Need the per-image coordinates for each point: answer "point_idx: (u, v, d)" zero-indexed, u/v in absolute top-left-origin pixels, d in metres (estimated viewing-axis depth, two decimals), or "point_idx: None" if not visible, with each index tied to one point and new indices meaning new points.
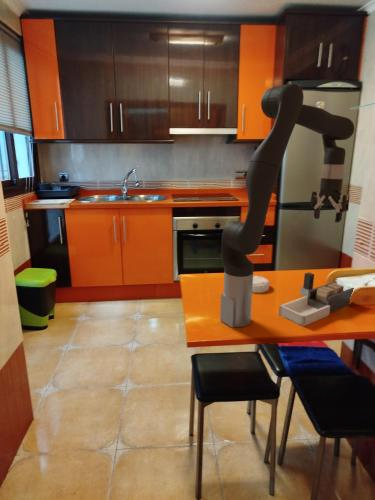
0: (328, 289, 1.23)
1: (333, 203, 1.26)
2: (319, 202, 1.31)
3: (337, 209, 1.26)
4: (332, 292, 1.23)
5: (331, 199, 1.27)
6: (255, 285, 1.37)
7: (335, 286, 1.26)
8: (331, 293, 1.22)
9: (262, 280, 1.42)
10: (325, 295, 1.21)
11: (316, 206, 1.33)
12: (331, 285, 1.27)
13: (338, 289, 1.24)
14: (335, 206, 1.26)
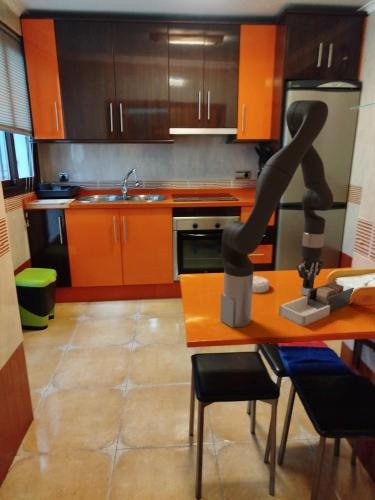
0: (328, 289, 1.23)
1: (316, 269, 1.31)
2: (311, 271, 1.30)
3: (314, 275, 1.33)
4: (332, 292, 1.23)
5: (317, 265, 1.31)
6: (255, 285, 1.37)
7: (335, 286, 1.26)
8: (331, 293, 1.22)
9: (262, 280, 1.42)
10: (325, 295, 1.21)
11: (309, 277, 1.31)
12: (331, 285, 1.27)
13: (338, 289, 1.24)
14: (315, 272, 1.32)
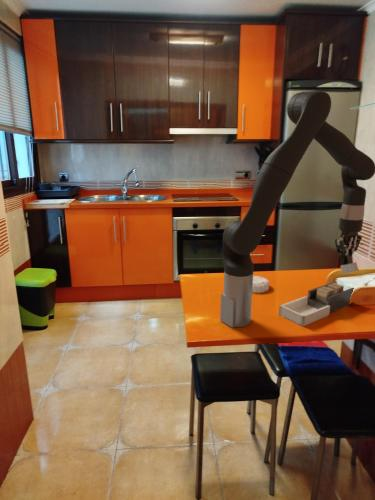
0: (328, 289, 1.23)
1: (355, 244, 1.24)
2: (349, 246, 1.22)
3: (352, 250, 1.25)
4: (332, 292, 1.23)
5: (355, 239, 1.23)
6: (255, 285, 1.37)
7: (335, 286, 1.26)
8: (331, 293, 1.22)
9: (262, 280, 1.42)
10: (325, 295, 1.21)
11: (347, 252, 1.23)
12: (331, 285, 1.27)
13: (338, 289, 1.24)
14: (354, 247, 1.25)
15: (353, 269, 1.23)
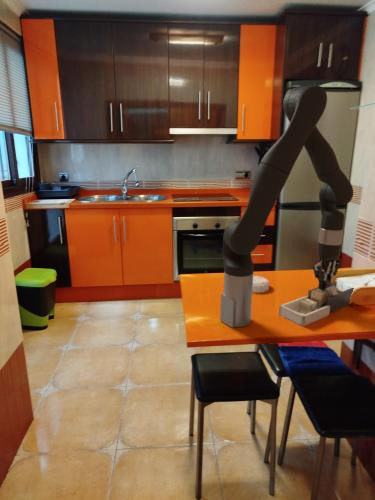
0: (305, 307, 1.18)
1: (333, 268, 1.20)
2: (328, 271, 1.19)
3: (331, 275, 1.21)
4: (311, 305, 1.17)
5: (334, 264, 1.20)
6: (255, 285, 1.37)
7: (319, 292, 1.20)
8: (311, 308, 1.17)
9: (262, 280, 1.42)
10: None
11: (326, 277, 1.20)
12: (315, 291, 1.21)
13: (322, 296, 1.19)
14: (333, 271, 1.21)
15: (331, 293, 1.19)
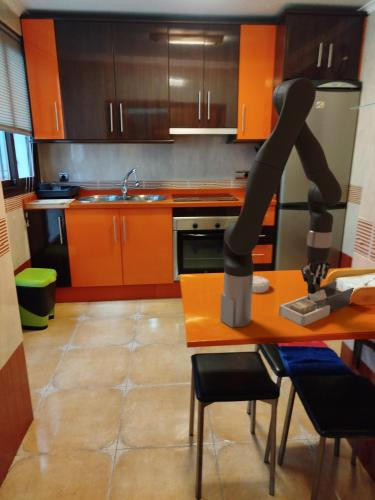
0: (296, 311, 1.15)
1: (323, 272, 1.17)
2: (317, 274, 1.15)
3: (321, 279, 1.18)
4: (302, 309, 1.14)
5: (323, 267, 1.16)
6: (255, 285, 1.37)
7: (307, 303, 1.17)
8: (302, 311, 1.14)
9: (262, 280, 1.42)
10: None
11: (315, 280, 1.16)
12: (303, 302, 1.18)
13: (310, 307, 1.16)
14: None
15: (320, 297, 1.16)
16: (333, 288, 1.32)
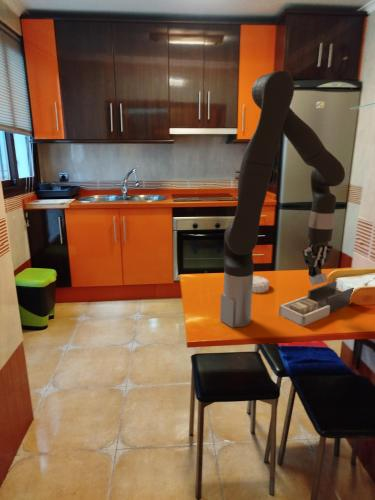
0: (296, 311, 1.15)
1: (324, 254, 1.15)
2: (318, 257, 1.13)
3: (322, 261, 1.16)
4: (302, 309, 1.14)
5: (325, 250, 1.14)
6: (255, 285, 1.37)
7: (309, 302, 1.18)
8: (302, 311, 1.14)
9: (262, 280, 1.42)
10: None
11: (316, 263, 1.14)
12: (305, 301, 1.19)
13: (311, 306, 1.16)
14: (323, 258, 1.16)
15: (321, 280, 1.14)
16: (333, 288, 1.32)
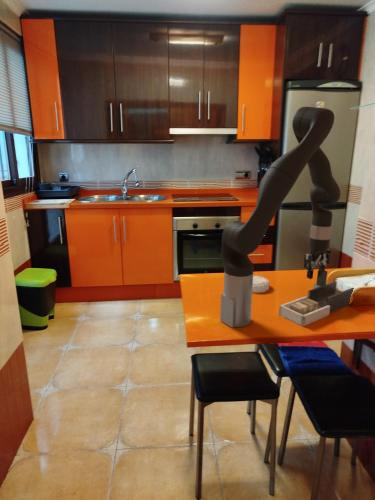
0: (296, 311, 1.15)
1: (325, 259, 1.37)
2: (316, 262, 1.34)
3: (325, 264, 1.39)
4: (302, 309, 1.14)
5: (324, 256, 1.36)
6: (255, 285, 1.37)
7: (309, 302, 1.18)
8: (302, 311, 1.14)
9: (262, 280, 1.42)
10: None
11: (313, 267, 1.35)
12: (305, 301, 1.19)
13: (311, 306, 1.16)
14: (325, 261, 1.38)
15: None
16: (333, 288, 1.32)
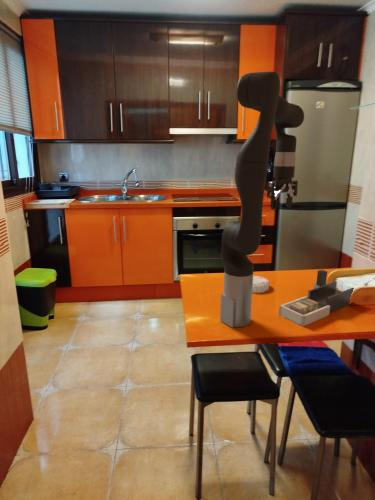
0: (296, 311, 1.15)
1: (291, 190, 1.31)
2: (280, 191, 1.28)
3: (292, 195, 1.33)
4: (302, 309, 1.14)
5: (290, 186, 1.30)
6: (255, 285, 1.37)
7: (309, 302, 1.18)
8: (302, 311, 1.14)
9: (262, 280, 1.42)
10: None
11: (276, 196, 1.28)
12: (305, 301, 1.19)
13: (311, 306, 1.16)
14: (291, 192, 1.32)
15: None
16: (333, 288, 1.32)
